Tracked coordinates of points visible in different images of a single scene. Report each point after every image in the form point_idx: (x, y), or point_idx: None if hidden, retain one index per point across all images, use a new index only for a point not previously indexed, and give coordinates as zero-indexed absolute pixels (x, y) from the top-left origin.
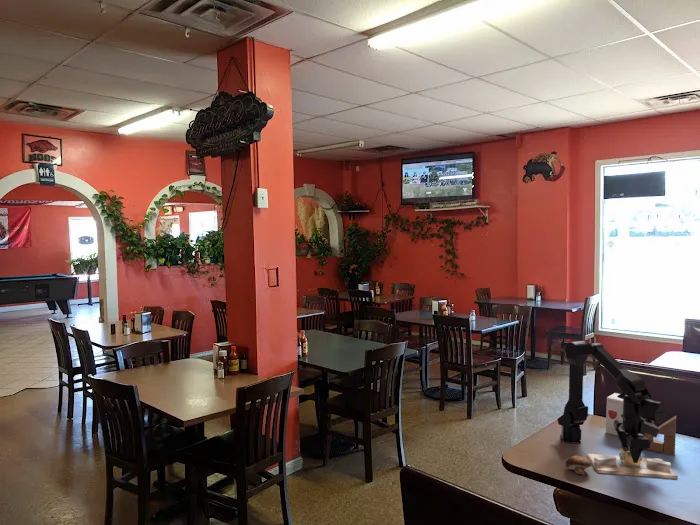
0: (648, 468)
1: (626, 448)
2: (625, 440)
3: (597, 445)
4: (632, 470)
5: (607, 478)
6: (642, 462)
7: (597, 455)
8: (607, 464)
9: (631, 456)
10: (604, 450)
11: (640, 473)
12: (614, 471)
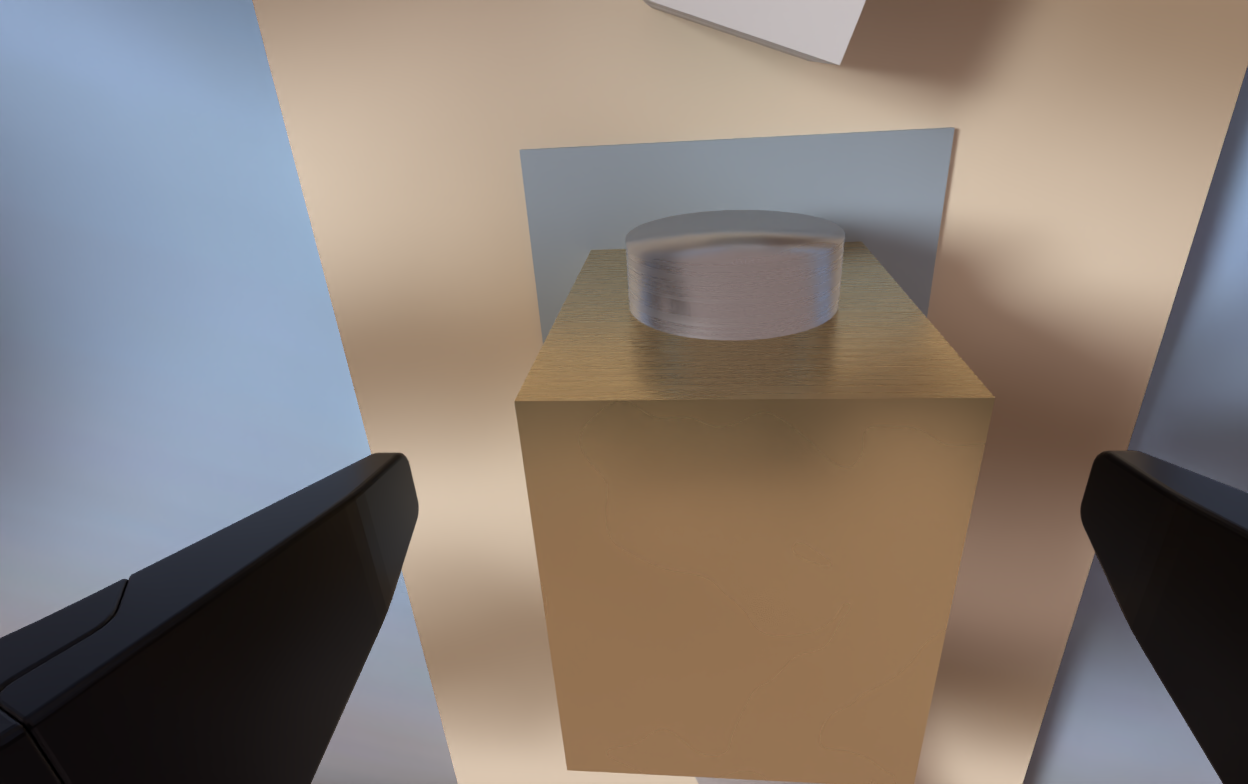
0: (915, 45)
1: (641, 686)
2: (230, 745)
3: (14, 596)
4: (1032, 440)
5: (1167, 768)
6: (575, 92)
7: (491, 746)
8: None
9: (1199, 703)
10: (158, 558)
11: (1158, 320)
12: (1046, 697)
